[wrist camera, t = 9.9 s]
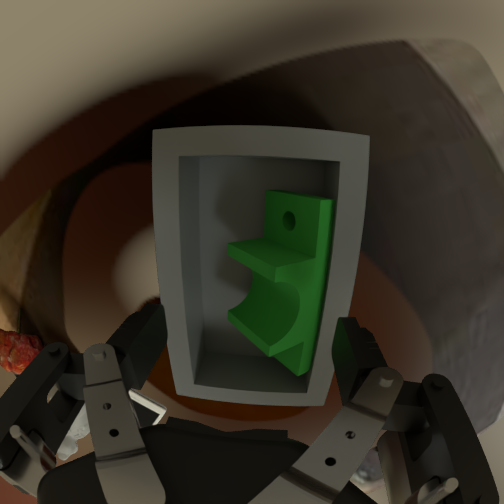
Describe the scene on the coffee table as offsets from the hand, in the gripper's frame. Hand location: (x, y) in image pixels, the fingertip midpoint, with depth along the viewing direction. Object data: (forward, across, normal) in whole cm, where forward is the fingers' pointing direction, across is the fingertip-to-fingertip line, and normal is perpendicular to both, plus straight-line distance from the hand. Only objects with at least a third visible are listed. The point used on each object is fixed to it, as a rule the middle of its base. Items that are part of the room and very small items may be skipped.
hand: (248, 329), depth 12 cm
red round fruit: (+8, +29, +12) cm, 32 cm away
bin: (+8, 0, 0) cm, 8 cm away
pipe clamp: (+6, 0, 0) cm, 6 cm away
